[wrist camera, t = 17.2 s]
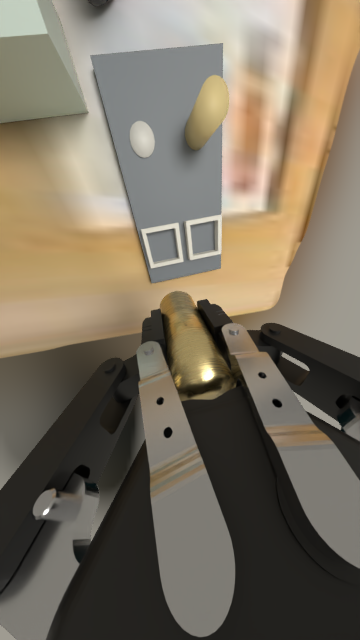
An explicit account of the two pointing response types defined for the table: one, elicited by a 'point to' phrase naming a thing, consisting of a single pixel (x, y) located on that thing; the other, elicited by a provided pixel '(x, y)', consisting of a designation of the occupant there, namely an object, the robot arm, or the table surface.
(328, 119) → the table surface
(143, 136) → the board
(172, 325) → the pin
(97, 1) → the leaning round-cornered charcoal block
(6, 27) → the block
